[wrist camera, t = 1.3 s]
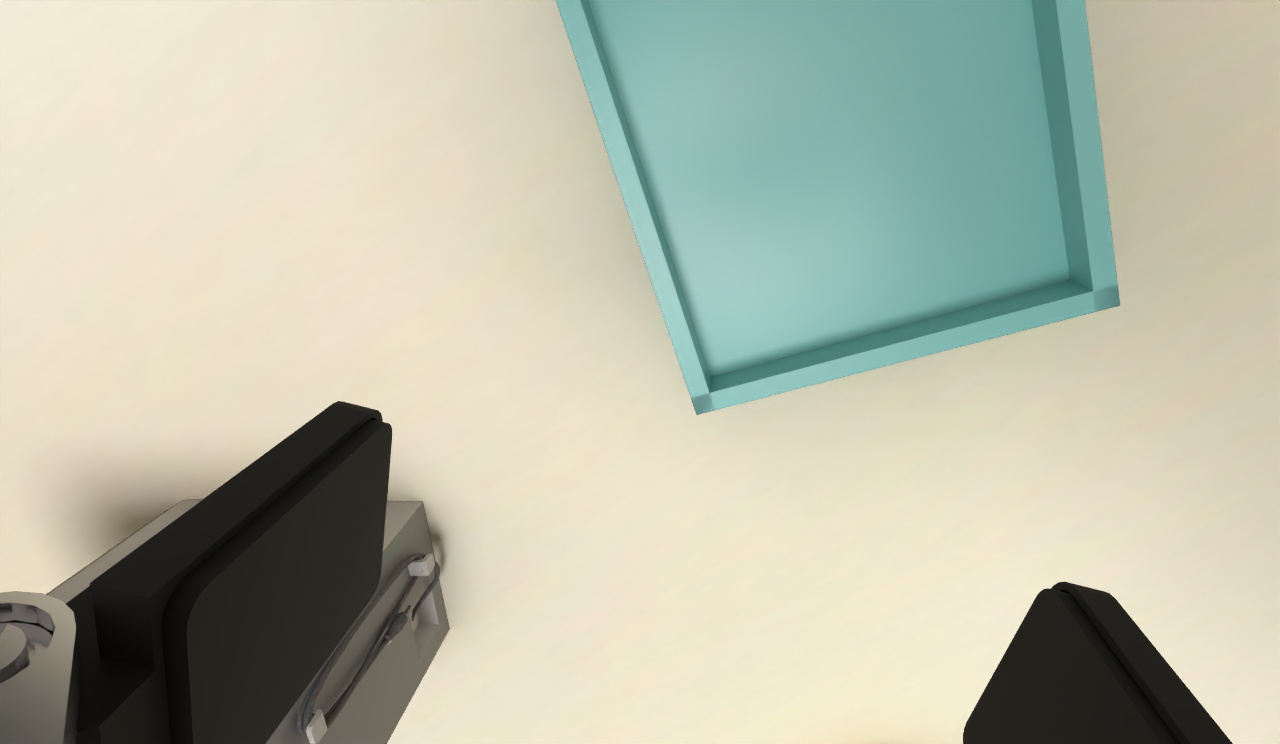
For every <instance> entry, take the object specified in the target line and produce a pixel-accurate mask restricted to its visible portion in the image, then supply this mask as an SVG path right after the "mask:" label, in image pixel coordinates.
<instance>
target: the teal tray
mask: <svg viewBox="0 0 1280 744" xmlns="http://www.w3.org/2000/svg"><path fill="white" fill-rule="evenodd" d="M556 2H557V5H558V8H559V11H560V14H561V17H562V20H563V23H564V26H565V29H566V32H567V35H568V38H569V41H570V44H571V47H572V49H573V52H574V55H575V58H576V61H577V64H578V67H579V70H580V73H581V76H582V79H583V82H584V85H585V88H586V91H587V94H588V97H589V100H590V102H591V105H592V108H593V111H594V114H595V117H596V120H597V123H598V126H599V129H600V132H601V135H602V138H603V141H604V144H605V147H606V150H607V152H608V155H609V158H610V161H611V164H612V167H613V170H614V173H615V176H616V179H617V182H618V185H619V188H620V191H621V194H622V197H623V200H624V203H625V205H626V208H627V211H628V214H629V217H630V220H631V223H632V226H633V229H634V232H635V235H636V238H637V241H638V244H639V247H640V250H641V253H642V255H643V258H644V261H645V264H646V267H647V270H648V273H649V276H650V279H651V282H652V285H653V288H654V291H655V294H656V297H657V300H658V303H659V306H660V308H661V311H662V314H663V317H664V320H665V323H666V326H667V329H668V332H669V335H670V338H671V341H672V344H673V347H674V350H675V353H676V356H677V358H678V361H679V364H680V367H681V370H682V373H683V376H684V379H685V382H686V385H687V388H688V391H689V394H690V397H691V400H692V403H693V406H694V409H695V411H696V414H697V415H698V414H702V413H706V412H710V411H714V410H718V409H722V408H725V407H729V406H733V405H737V404H741V403H745V402H749V401H753V400H756V399H760V398H764V397H768V396H772V395H776V394H780V393H783V392H787V391H791V390H795V389H799V388H803V387H807V386H810V385H814V384H818V383H822V382H826V381H830V380H834V379H838V378H841V377H845V376H849V375H853V374H857V373H861V372H865V371H868V370H872V369H876V368H880V367H884V366H888V365H892V364H896V363H899V362H903V361H907V360H911V359H915V358H919V357H923V356H926V355H930V354H934V353H938V352H942V351H946V350H950V349H954V348H957V347H961V346H965V345H969V344H973V343H977V342H981V341H984V340H988V339H992V338H996V337H1000V336H1004V335H1008V334H1011V333H1015V332H1019V331H1023V330H1027V329H1031V328H1035V327H1039V326H1042V325H1046V324H1050V323H1054V322H1058V321H1062V320H1066V319H1069V318H1073V317H1077V316H1081V315H1085V314H1089V313H1093V312H1097V311H1100V310H1104V309H1108V308H1112V307H1116V306H1120V300H1119V292H1118V283H1117V274H1116V266H1115V257H1114V249H1113V240H1112V231H1111V223H1110V214H1109V206H1108V197H1107V188H1106V180H1105V171H1104V163H1103V154H1102V145H1101V137H1100V128H1099V120H1098V111H1097V102H1096V94H1095V85H1094V77H1093V68H1092V59H1091V51H1090V42H1089V33H1088V25H1087V16H1086V8H1085V0H556Z"/></svg>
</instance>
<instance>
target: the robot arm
mask: <svg viewBox="0 0 1280 744" xmlns="http://www.w3.org/2000/svg"><path fill="white" fill-rule="evenodd" d="M391 442H392V428H391V425H390V424H388V423H384V422H382V416H381V413H380V412H379V411H378V410H374V409H370V408H366V407H362V406H358V405H354V404H350V403H346V402H341V401H338V402H336V403H333V404H332V405H331V406H329V407H328V408H327V409H325V410H324V411H322V412H321V413H320V414H318V415H317V416H316V417H314V418H313V419H312V420H310V421H309V422H308V423H306V424H305V425H303V426H302V427H301V428H299V429H298V430H297V431H295V432H294V433H293V434H291V435H290V436H289V437H287V438H286V439H284V440H283V441H282V442H280V443H279V444H278V445H276V446H275V447H274V448H272V449H271V450H270V451H268V452H267V453H265V454H264V455H263V456H261V457H260V458H259V459H257V460H256V461H255V462H253V463H252V464H250V465H249V466H248V467H246V468H245V469H244V470H242V471H241V472H240V473H238V474H237V475H236V476H234V477H233V478H231V479H230V480H229V481H227V482H226V483H225V484H223V485H222V486H221V487H219V488H218V489H217V490H215V491H214V492H212V493H211V494H210V495H208V496H207V497H206V498H204V499H203V500H202V501H200V502H199V503H198V504H196V505H195V506H193V507H192V508H191V509H189V510H188V511H187V512H185V513H184V514H183V515H181V516H180V517H179V518H177V519H176V520H174V521H173V522H172V523H170V524H169V525H168V526H166V527H165V528H164V529H162V530H161V531H159V532H158V533H157V534H155V535H154V536H153V537H151V538H150V539H149V540H147V541H146V542H145V543H143V544H142V545H140V546H139V547H138V548H136V549H135V550H134V551H132V552H131V553H130V554H128V555H127V556H126V557H124V558H123V559H121V560H120V561H119V562H117V563H116V564H115V565H113V566H112V567H111V568H109V569H108V570H107V571H105V572H104V573H102V574H101V575H100V576H98V577H97V578H96V579H94V580H93V581H92V582H90V586H89V587H87V588H86V589H85V590H83V591H82V592H81V593H79V594H78V595H77V596H75V597H74V598H73V599H71V600H70V601H69V602H67V603H66V604H65V603H64V602H63V601H62V600H59V599H56V598H54V597H51V596H48V595H45V594H42V593H31V592H18V591H14V592H4V593H0V744H266V742H267V741H268V740H269V738H270V737H271V736H272V734H273V733H274V732H275V730H276V729H277V727H278V726H279V725H280V723H281V722H282V721H283V719H284V718H285V716H286V715H287V714H288V712H289V711H290V710H291V708H292V707H293V706H294V704H295V703H296V701H297V700H298V699H299V697H300V696H301V695H302V693H303V692H304V690H305V689H306V688H307V686H308V685H309V684H310V682H311V681H312V680H313V678H314V677H315V675H316V674H317V673H318V671H319V670H320V669H321V667H322V666H323V664H324V663H325V662H326V660H327V659H328V658H329V656H330V655H331V653H332V652H333V651H334V649H335V648H336V647H337V645H338V644H339V643H340V641H341V640H342V638H343V637H344V636H345V634H346V633H347V632H348V630H349V629H350V627H351V626H352V625H353V623H354V622H355V621H356V619H357V618H358V617H359V615H360V614H361V612H362V611H363V610H364V608H365V607H366V606H367V604H368V603H369V601H370V600H371V598H372V597H373V595H374V593H375V591H376V589H377V586H378V584H379V580H380V576H381V569H382V556H383V543H384V531H385V518H386V506H387V493H388V480H389V468H390V455H391ZM963 744H1233V743H1232V742H1231V741H1230V740H1229V739H1228V737H1227V736H1226V735H1225V734H1224V732H1223V731H1222V730H1221V729H1220V727H1219V726H1218V725H1217V724H1216V722H1215V721H1214V720H1213V719H1212V718H1211V716H1210V715H1209V714H1208V713H1207V711H1206V710H1205V709H1204V708H1203V706H1202V705H1201V704H1200V703H1199V701H1198V700H1197V699H1196V698H1195V697H1194V695H1193V694H1192V693H1191V692H1190V690H1189V689H1188V688H1187V687H1186V685H1185V684H1184V683H1183V682H1182V680H1181V679H1180V678H1179V677H1178V675H1177V674H1176V673H1175V672H1174V671H1173V669H1172V668H1171V667H1170V666H1169V664H1168V663H1167V662H1166V661H1165V659H1164V658H1163V657H1162V656H1161V654H1160V653H1159V652H1158V651H1157V650H1156V648H1155V647H1154V646H1153V645H1152V643H1151V642H1150V641H1149V640H1148V638H1147V637H1146V636H1145V635H1144V633H1143V632H1142V631H1141V630H1140V628H1139V627H1138V626H1137V625H1136V624H1135V622H1134V621H1133V620H1132V619H1131V617H1130V616H1129V615H1128V614H1127V612H1126V611H1125V610H1124V609H1123V607H1122V606H1121V605H1120V604H1119V603H1118V601H1117V600H1116V599H1115V598H1114V597H1113V596H1112V595H1111V594H1109V593H1107V592H1104V591H1100V590H1096V589H1092V588H1088V587H1084V586H1080V585H1076V584H1072V583H1068V582H1059V583H1057V584H1056V585H1054V586H1053V587H1052V588H1051V589H1044V590H1042V591H1041V592H1040V593H1039V594H1038V595H1037V597H1036V598H1035V600H1034V602H1033V604H1032V606H1031V607H1030V609H1029V611H1028V613H1027V615H1026V616H1025V618H1024V620H1023V622H1022V624H1021V625H1020V627H1019V629H1018V631H1017V633H1016V634H1015V636H1014V638H1013V640H1012V642H1011V643H1010V645H1009V647H1008V649H1007V651H1006V652H1005V654H1004V656H1003V658H1002V660H1001V661H1000V663H999V665H998V667H997V669H996V670H995V672H994V674H993V676H992V678H991V679H990V681H989V683H988V685H987V687H986V688H985V690H984V692H983V694H982V696H981V697H980V699H979V701H978V703H977V705H976V706H975V708H974V710H973V712H972V714H971V715H970V717H969V719H968V721H967V723H966V725H965V728H964V733H963Z"/></svg>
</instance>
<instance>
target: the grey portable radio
mask: <svg viewBox="0 0 1280 744" xmlns="http://www.w3.org/2000/svg"><path fill="white" fill-rule="evenodd" d="M202 500H203V499H189V500H183V501H181V502H180V503H178V504H177V505H175V506H174V507H172V508H171V509H169V510H166V511H165V512H164V513H162V514H161V515H159V516H158V517H156V518H155V519H153V520H152V521H151V522H149V523H148V524H146V525H145V526H143V527H142V528H141V529H139V530H138V531H136V532H135V533H133V534H132V535H131V536H129V537H128V538H126V539H125V540H123V541H122V542H121V543H119V544H118V545H116V546H115V547H113V548H112V549H110V550H109V551H108V552H106V553H105V554H103V555H102V556H100V557H99V558H98V559H96V560H95V561H93V562H92V563H90V564H89V565H88V566H86V567H85V568H83V569H82V570H80V571H79V572H78V573H76V574H75V575H73V576H72V577H70V578H69V579H68V580H66V581H65V582H63V583H62V584H60V585H59V586H57V587H56V588H55V589H53V590H52V591H50V592H49V593H47V594H46V595H48V596H51V597H54V598H56V599H59V600H62V601H63V602H64V603H65V604H66V603H67V602H69V601H70V600H71V599H73V598H74V597H75V596H77V595H78V594H79V593H81V592H82V591H83V590H85V589H86V588H87V587H89V586H90V582H92V581H93V580H94V579H96V578H97V577H98V576H100V575H101V574H102V573H104V572H105V571H107V570H108V569H109V568H111V567H112V566H113V565H115V564H116V563H117V562H119V561H120V560H121V559H123V558H124V557H126V556H127V555H128V554H130V553H131V552H132V551H134V550H135V549H136V548H138V547H139V546H140V545H142V544H143V543H145V542H146V541H147V540H149V539H150V538H151V537H153V536H154V535H155V534H157V533H158V532H159V531H161V530H162V529H164V528H165V527H166V526H168V525H169V524H170V523H172V522H173V521H174V520H176V519H177V518H179V517H180V516H181V515H183V514H184V513H185V512H187V511H188V510H189V509H191V508H192V507H193V506H195V505H196V504H198V503H199V502H200V501H202ZM439 572H440V570H439V567H438V564H437V562H436V561H435V557H434V552H433V547H432V542H431V538H430V533H429V528H428V523H427V518H426V514H425V509H424V504H423V502H413V501H387V506H386V518H385V531H384V543H383V556H382V569H381V576H380V580H379V584H378V586H377V589H376V591H375V593H374V595H373V597H372V598H371V600H370V601H369V603H368V604H367V606H366V607H365V608H364V610H363V611H362V612H361V614H360V615H359V617H358V618H357V619H356V621H355V622H354V623H353V625H352V626H351V627H350V629H349V630H348V632H347V633H346V634H345V636H344V637H343V638H342V640H341V641H340V643H339V644H338V645H337V647H336V648H335V649H334V651H333V652H332V653H331V655H330V656H329V658H328V659H327V660H326V662H325V663H324V664H323V666H322V667H321V669H320V670H319V671H318V673H317V674H316V675H315V677H314V678H313V680H312V681H311V682H310V684H309V685H308V686H307V688H306V689H305V690H304V692H303V693H302V695H301V696H300V697H299V699H298V700H297V701H296V703H295V704H294V706H293V707H292V708H291V710H290V711H289V712H288V714H287V715H286V716H285V718H284V719H283V721H282V722H281V723H280V725H279V726H278V727H277V729H276V730H275V732H274V733H273V734H272V736H271V737H270V738H269V740H268V741H267V742H266V744H387V742H388V740H389V739H390V737H391V735H392V733H393V731H394V729H395V728H396V726H397V724H398V722H399V720H400V718H401V717H402V715H403V713H404V711H405V709H406V708H407V706H408V704H409V702H410V700H411V698H412V697H413V695H414V693H415V691H416V689H417V687H418V686H419V684H420V682H421V680H422V678H423V677H424V675H425V673H426V671H427V669H428V667H429V666H430V664H431V662H432V660H433V658H434V656H435V655H436V653H437V651H438V649H439V647H440V646H441V644H442V642H443V640H444V638H445V636H446V635H447V633H448V631H449V629H450V628H449V624H448V619H447V614H446V609H445V605H444V600H443V595H442V590H441V585H440V581H439Z"/></svg>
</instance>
